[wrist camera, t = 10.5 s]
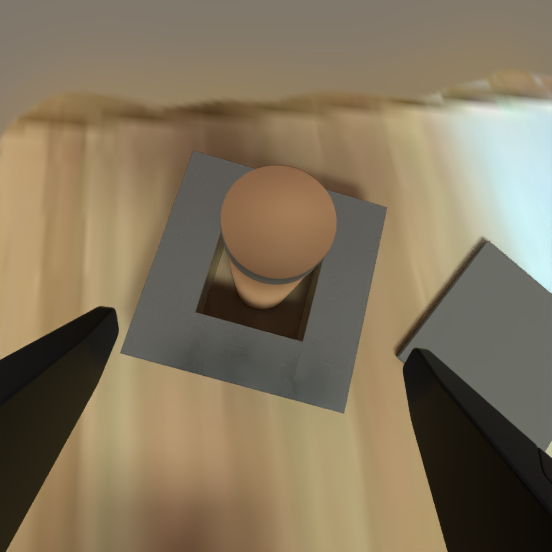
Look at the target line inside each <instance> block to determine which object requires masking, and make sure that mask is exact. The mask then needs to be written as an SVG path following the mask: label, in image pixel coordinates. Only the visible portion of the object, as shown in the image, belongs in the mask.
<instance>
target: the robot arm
mask: <svg viewBox="0 0 552 552" xmlns="http://www.w3.org/2000/svg"><path fill="white" fill-rule="evenodd" d="M118 332H119V327H118V321H117V315H116V310H115V309H114V308H112V307H104V306H99V307H97V308H95V309H93V310H91V311H89V312H87V313H86V314H84V315H82V316H80V317H78V318H76V319H75V320H73V321H71V322H69V323H67V324H65V325H63V326H62V327H60V328H58V329H56V330H54V331H52V332H51V333H49V334H47V335H45V336H43V337H41V338H40V339H38V340H36V341H34V342H32V343H30V344H29V345H27V346H25V347H23V348H21V349H19V350H17V351H16V352H14V353H12V354H10V355H8V356H6V357H5V358H3V359H1V360H0V552H6V550H7V548H8V547H9V545H10V543H11V541H12V539H13V538H14V536H15V534H16V532H17V530H18V528H19V527H20V525H21V523H22V521H23V519H24V518H25V516H26V514H27V512H28V510H29V508H30V507H31V505H32V503H33V501H34V499H35V498H36V496H37V494H38V492H39V490H40V488H41V487H42V485H43V483H44V481H45V479H46V478H47V476H48V474H49V472H50V470H51V468H52V467H53V465H54V463H55V461H56V459H57V458H58V456H59V454H60V452H61V450H62V448H63V447H64V445H65V443H66V441H67V439H68V438H69V436H70V434H71V432H72V430H73V428H74V427H75V425H76V423H77V421H78V419H79V417H80V416H81V414H82V412H83V410H84V408H85V407H86V405H87V403H88V401H89V399H90V397H91V396H92V394H93V392H94V390H95V388H96V386H97V384H98V382H99V380H100V378H101V376H102V373H103V371H104V368H105V366H106V363H107V361H108V358H109V356H110V354H111V351H112V349H113V346H114V344H115V341H116V339H117V336H118ZM403 376H404V382H405V388H406V394H407V400H408V406H409V412H410V417H411V421H412V425H413V429H414V433H415V436H416V440H417V443H418V447H419V451H420V454H421V458H422V461H423V465H424V469H425V472H426V476H427V479H428V483H429V486H430V490H431V494H432V497H433V501H434V504H435V508H436V512H437V515H438V519H439V522H440V526H441V530H442V533H443V537H444V540H445V544H446V548H447V551H448V552H552V458H551V457H550V456H549V455H548V454H547V453H546V452H544V451H543V450H542V449H541V448H539V447H537V445H536V444H535V443H534V442H533V441H532V440H531V439H530V438H528V437H527V436H526V435H525V434H524V433H523V432H522V431H521V430H519V429H518V428H517V427H516V426H515V425H514V424H513V423H511V422H510V421H509V420H508V419H507V418H506V417H505V416H504V415H502V414H501V413H500V412H499V411H498V410H497V409H496V408H495V407H493V406H492V405H491V404H490V403H489V402H488V401H487V400H485V399H484V398H483V397H482V396H481V395H480V394H479V393H478V392H476V391H475V390H474V389H473V388H472V387H471V386H470V385H468V384H467V383H466V382H465V381H464V380H463V379H462V378H461V377H459V376H458V375H457V374H456V373H455V372H454V371H453V370H452V369H450V368H449V367H448V366H447V365H446V364H445V363H444V362H442V361H441V360H440V359H439V358H438V357H437V356H436V355H435V354H433V353H432V352H431V351H430V350H428V349H426V348H418V347H416V348H413V349H412V351H411V353H410V354H409V356H408V358H407V360H406V362H405V363H404V366H403Z"/></svg>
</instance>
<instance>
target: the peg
mask: <svg viewBox="0 0 552 552" xmlns="http://www.w3.org/2000/svg"><path fill="white" fill-rule="evenodd" d="M336 226H337V219H336V212H335V208H334V205H333V202H332V200H331V198H330V196H329V194H328V192H327V191H326V189H325V188H324V187H323V186H322V185H321V184H320V183H319V182H318V181H317V180H316V179H315V178H313V177H312V176H311V175H309V174H307V173H305V172H304V171H301V170H299V169H296V168H293V167H289V166H282V165H272V166H265V167H260V168H257V169H255V170H252V171H250V172H248V173H246V174H245V175H244V176H242V177H241V178H240V179H238V180H237V181H236V182H235V183H234V184H233V186H232V187H231V188H230V190H229V191H228V193H227V195H226V197H225V199H224V202H223V205H222V209H221V219H220V228H221V235H222V239H223V243H224V246H225V250H226V252H227V254H228V258H229V262H230V266H231V270H232V274H233V278H234V282H235V286H236V290H237V293H238V295H239V297H240V298H241V300H242V301H243V302H244V303H245V304H247V305H248V306H250V307H252V308H255V309H261V310H262V309H270V308H273V307H275V306H277V305H278V304H280V303H281V302H282V301H283V300H284V299H285V298H286V296H287V295H288V294H289V293H290V292H291V291H292V290H293V289H294V288H295V287H296V286H297V285H298V284H299V283H300V282H301V281H302V279H303V278H304V277H305V276H307V275H308V274H309V273H310V272H312V271H313V270H314V269H315V268H316V267H317V265H318V264H319V263H320V262H321V261H322V260H323V259H324V257H325V256H326V255H327V253H328V251H329V249H330V247H331V245H332V243H333V240H334V238H335V233H336Z"/></svg>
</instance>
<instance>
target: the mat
mask: <svg viewBox="0 0 552 552" xmlns="http://www.w3.org/2000/svg"><path fill="white" fill-rule="evenodd" d="M416 347H418V348H426V349H428V350H430V351H431V352H432V353H433V354H435V355H436V356H437V357H438V358H439V359H440V360H441V361H442V362H444V363H445V364H446V365H447V366H448V367H449V368H450V369H452V370H453V371H454V372H455V373H456V374H457V375H458V376H459V377H461V378H462V379H463V380H464V381H465V382H466V383H467V384H468V385H470V386H471V387H472V388H473V389H474V390H475V391H476V392H478V393H479V394H480V395H481V396H482V397H483V398H484V399H485V400H487V401H488V402H489V403H490V404H491V405H492V406H493V407H495V408H496V409H497V410H498V411H499V412H500V413H501V414H502V415H504V416H505V417H506V418H507V419H508V420H509V421H510V422H511V423H513V424H514V425H515V426H516V427H517V428H518V429H519V430H521V431H522V432H523V433H524V434H525V435H526V436H527V437H528V438H530V439H531V440H532V441H533V442H534V443H535V444H536V445H537V447H539V448H541V449H542V450H543V451H544V452H545V451H546V449H547V447H548V446H549V444H550V442H551V441H552V294H551V293H550V292H548V291H547V290H546V289H545V288H544V287H543V286H541V285H540V284H539V283H538V282H537V281H535V280H534V279H533V278H532V277H531V276H530V275H528V274H527V273H526V272H525V271H524V270H523V269H521V268H520V267H519V266H518V265H517V264H515V263H514V262H513V261H512V260H511V259H510V258H508V257H507V256H506V255H505V254H504V253H502V252H501V251H500V250H499V249H498V248H497V247H495V246H494V245H493V244H492V243H491V242H490V241H486V242H484V243H483V244H482V246H481V247H480V248H479V249H478V251H477V252H476V253H475V255H474V256H473V257H472V259H471V260H470V261H469V262H468V264H467V265H466V266H465V268H464V269H463V270H462V271H461V273H460V274H459V275H458V277H457V278H456V279H455V281H454V282H453V283H452V284H451V286H450V287H449V288H448V290H447V291H446V292H445V293H444V295H443V296H442V297H441V299H440V300H439V301H438V302H437V304H436V305H435V306H434V308H433V309H432V310H431V312H430V313H429V314H428V315H427V317H426V318H425V319H424V321H423V322H422V323H421V324H420V326H419V327H418V328H417V330H416V331H415V332H414V333H413V335H412V336H411V337H410V339H409V340H408V341H407V343H406V344H405V345H404V346H403V348H402V349H401V350H400V352H399V353H398V354H397V355H396V357H397V358H398V359H399V360H401V361H402V362H403V363H405V362H406V360H407V358H408V356H409V354H410V353H411V351H412V349H413V348H416Z"/></svg>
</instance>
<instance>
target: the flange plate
mask: <svg viewBox="0 0 552 552" xmlns="http://www.w3.org/2000/svg"><path fill="white" fill-rule="evenodd" d="M252 170H255V169H254V168H251V167H248V166H244V165H241V164H237V163H234V162H231V161H227V160H224V159H220V158H217V157H213V156H210V155H207V154H203V153H200V152H196V151H193V153H192V155H191V158H190V161H189V164H188V167H187V169H186V172H185V175H184V178H183V180H182V183H181V186H180V189H179V191H178V194H177V197H176V200H175V202H174V205H173V208H172V211H171V214H170V216H169V219H168V222H167V225H166V227H165V230H164V233H163V236H162V238H161V241H160V244H159V247H158V250H157V252H156V255H155V258H154V261H153V263H152V266H151V269H150V272H149V274H148V277H147V280H146V283H145V286H144V288H143V291H142V294H141V297H140V299H139V302H138V305H137V308H136V310H135V313H134V316H133V319H132V321H131V324H130V327H129V330H128V333H127V335H126V338H125V341H124V344H123V346H122V349H121V352H120V353H121V354H125V355H129V356H132V357H136V358H140V359H144V360H147V361H151V362H155V363H158V364H162V365H166V366H170V367H173V368H177V369H181V370H184V371H188V372H192V373H196V374H199V375H203V376H207V377H210V378H214V379H218V380H222V381H225V382H229V383H233V384H236V385H240V386H244V387H248V388H251V389H255V390H259V391H262V392H266V393H270V394H274V395H277V396H281V397H285V398H288V399H292V400H296V401H300V402H303V403H307V404H311V405H314V406H318V407H322V408H326V409H329V410H333V411H337V412H340V413H344V411H345V406H346V402H347V397H348V392H349V387H350V382H351V378H352V373H353V368H354V363H355V359H356V354H357V349H358V344H359V339H360V335H361V330H362V325H363V320H364V315H365V311H366V306H367V301H368V296H369V292H370V287H371V282H372V277H373V272H374V268H375V263H376V258H377V253H378V249H379V244H380V239H381V234H382V229H383V225H384V220H385V215H386V210H387V207H384V206H381V205H377V204H374V203H371V202H367V201H364V200H360V199H357V198H353V197H350V196H347V195H343V194H340V193H336V192H333V191H330V190H326V191H327V192H328V194H329V196H330V198H331V200H332V202H333V205H334V208H335V212H336V219H337V226H336V233H335V238H334V240H333V243H332V245H331V247H330V249H329V251H328V253H327V255H326V256H325V257H324V259H323V260H322V261H321V262H320V263H319V264H318V265H317V267H316V268H315V269H314V271H313V275H312V279H311V283H310V287H309V291H308V295H307V299H306V303H305V307H304V311H303V315H302V319H301V323H300V327H299V331H298V335H297V339H296V340H294V339H291V338H287V337H283V336H280V335H276V334H273V333H269V332H265V331H262V330H258V329H254V328H251V327H247V326H244V325H240V324H236V323H233V322H229V321H225V320H222V319H218V318H215V317H211V316H207V315H204V314H203V310H204V307H205V304H206V301H207V298H208V295H209V291H210V288H211V285H212V282H213V279H214V276H215V273H216V269H217V266H218V263H219V260H220V257H221V254H222V250H223V247H224V243H223V239H222V235H221V228H220V219H221V209H222V205H223V202H224V199H225V197H226V195H227V193H228V191H229V190H230V188H231V187H232V186H233V184H234V183H235V182H236V181H237V180H238V179H240V178H241V177H242V176H244V175H245V174H246V173H248V172H250V171H252Z"/></svg>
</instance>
